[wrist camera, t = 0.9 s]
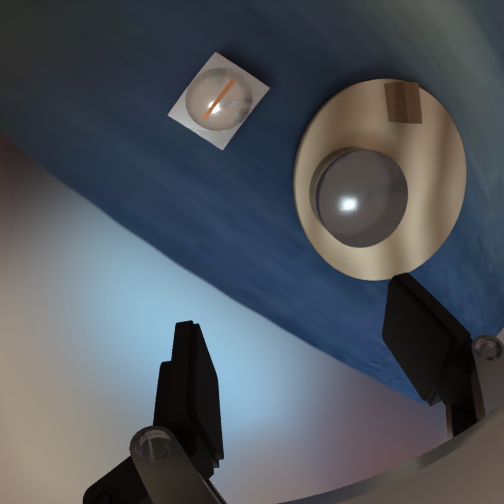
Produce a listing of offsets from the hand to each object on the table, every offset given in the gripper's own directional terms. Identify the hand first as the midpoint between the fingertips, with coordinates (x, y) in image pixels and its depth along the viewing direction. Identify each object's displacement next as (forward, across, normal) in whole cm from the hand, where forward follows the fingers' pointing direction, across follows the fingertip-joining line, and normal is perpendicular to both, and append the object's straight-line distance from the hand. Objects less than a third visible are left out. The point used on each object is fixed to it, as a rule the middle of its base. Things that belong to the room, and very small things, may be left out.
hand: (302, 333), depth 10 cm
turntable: (+18, -14, 0) cm, 23 cm away
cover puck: (+15, -9, 0) cm, 18 cm away
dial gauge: (+18, +1, -9) cm, 20 cm away
